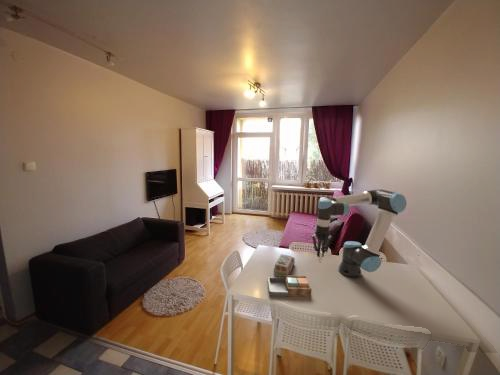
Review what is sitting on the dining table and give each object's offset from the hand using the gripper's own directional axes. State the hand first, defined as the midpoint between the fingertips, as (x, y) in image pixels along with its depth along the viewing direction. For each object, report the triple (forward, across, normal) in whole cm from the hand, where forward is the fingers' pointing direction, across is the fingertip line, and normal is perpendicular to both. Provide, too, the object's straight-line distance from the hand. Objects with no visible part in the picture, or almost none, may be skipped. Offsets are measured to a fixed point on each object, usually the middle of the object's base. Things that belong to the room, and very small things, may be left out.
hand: (319, 261), depth 139 cm
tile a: (+15, +10, 0) cm, 18 cm away
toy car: (+20, +18, -22) cm, 35 cm away
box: (+20, +25, 0) cm, 32 cm away
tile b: (+15, +16, 0) cm, 22 cm away
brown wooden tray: (+19, +13, 0) cm, 23 cm away
